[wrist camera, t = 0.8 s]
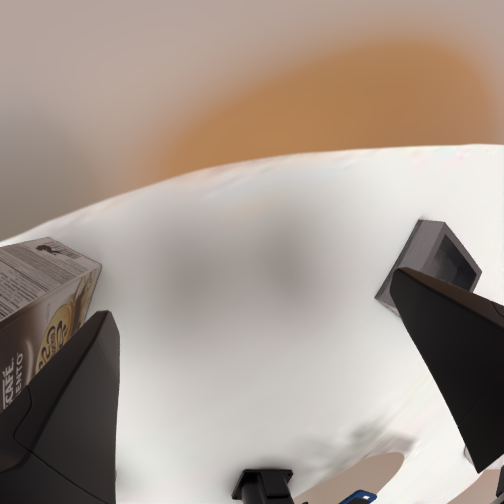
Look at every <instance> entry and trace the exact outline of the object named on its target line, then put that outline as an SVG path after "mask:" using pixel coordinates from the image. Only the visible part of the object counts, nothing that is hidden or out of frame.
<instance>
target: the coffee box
mask: <svg viewBox="0 0 504 504" xmlns="http://www.w3.org/2000/svg"><path fill="white" fill-rule="evenodd" d="M101 267H102V266H101V265H100V264H98V263H96V262H94V261H92V260H90V259H88V258H87V257H85V256H83V255H81V254H79V253H77V252H75V251H73V250H71V249H69V248H67V247H66V246H64V245H62V244H60V243H58V242H56V241H54V240H53V239H51V238H49V237H46V238H42V239H37V240H32V241H27V242H22V243H17V244H13V245H8V246H3V247H0V413H1V412H2V411H3V410H4V409H5V408H6V407H7V406H8V405H9V404H10V403H11V401H12V400H13V399H14V398H15V397H16V396H17V395H18V394H19V393H20V392H21V390H22V389H23V388H24V387H25V386H26V385H27V384H28V383H29V381H30V380H31V379H32V378H33V377H34V376H35V375H36V374H37V373H38V372H39V370H40V369H41V368H42V367H43V366H44V365H45V364H46V363H47V362H48V361H49V360H50V359H51V358H52V356H53V355H54V354H55V353H56V352H57V351H58V350H59V349H60V348H61V347H62V346H63V345H64V344H65V343H66V342H67V341H68V340H69V339H70V338H71V337H72V336H73V335H74V334H75V333H76V332H77V331H78V330H79V328H80V327H81V326H82V325H83V324H84V320H85V317H86V313H87V310H88V307H89V304H90V300H91V297H92V294H93V291H94V288H95V285H96V282H97V279H98V276H99V273H100V270H101Z"/></svg>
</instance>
